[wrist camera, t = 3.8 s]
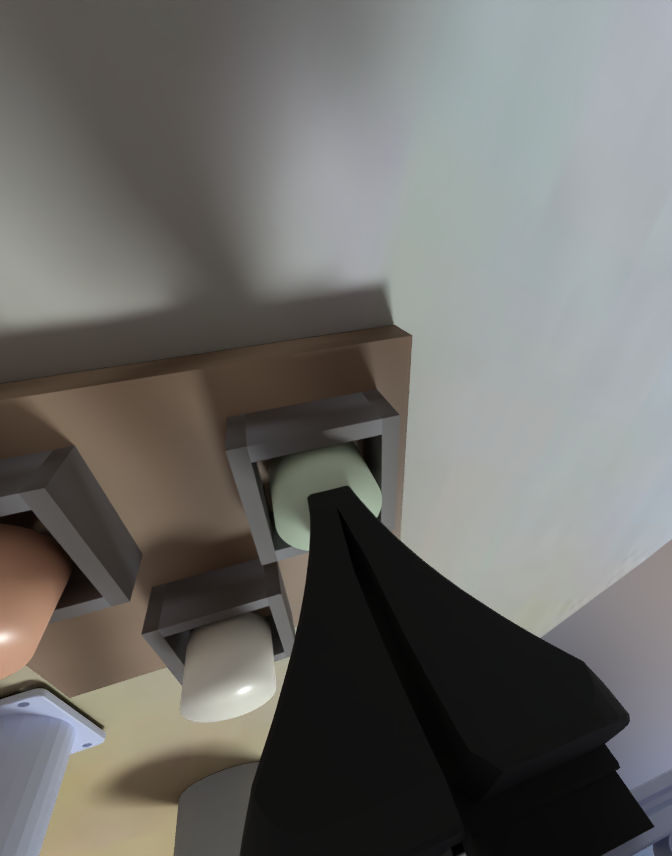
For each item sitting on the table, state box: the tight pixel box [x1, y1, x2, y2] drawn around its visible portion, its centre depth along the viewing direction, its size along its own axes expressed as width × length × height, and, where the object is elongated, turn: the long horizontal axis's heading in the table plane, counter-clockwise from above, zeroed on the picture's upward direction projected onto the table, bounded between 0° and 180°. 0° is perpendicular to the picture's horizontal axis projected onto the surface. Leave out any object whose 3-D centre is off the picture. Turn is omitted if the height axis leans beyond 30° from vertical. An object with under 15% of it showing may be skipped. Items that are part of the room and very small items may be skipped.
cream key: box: [180, 612, 276, 722], centre depth 14 cm, size 4×4×2 cm
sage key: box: [268, 441, 382, 551], centre depth 12 cm, size 4×4×2 cm
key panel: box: [0, 325, 412, 698], centre depth 14 cm, size 18×16×4 cm
